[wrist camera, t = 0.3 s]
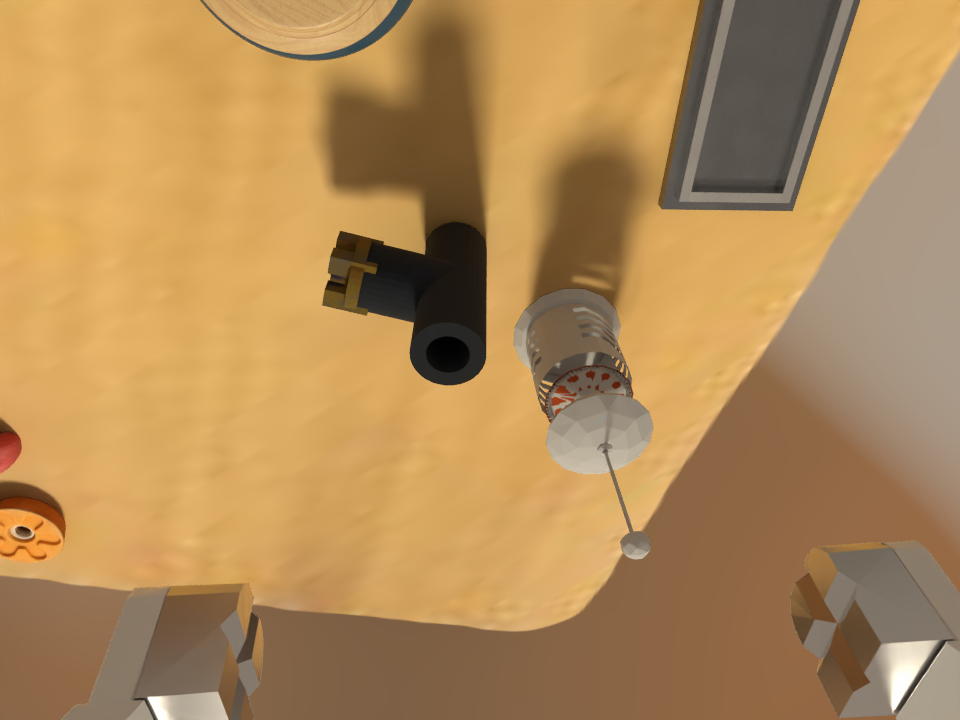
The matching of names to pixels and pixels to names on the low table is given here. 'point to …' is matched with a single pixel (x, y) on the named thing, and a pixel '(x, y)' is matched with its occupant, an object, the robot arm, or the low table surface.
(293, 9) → the canister
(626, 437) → the french press
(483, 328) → the pipe connector
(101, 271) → the low table surface
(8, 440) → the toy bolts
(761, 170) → the plate
